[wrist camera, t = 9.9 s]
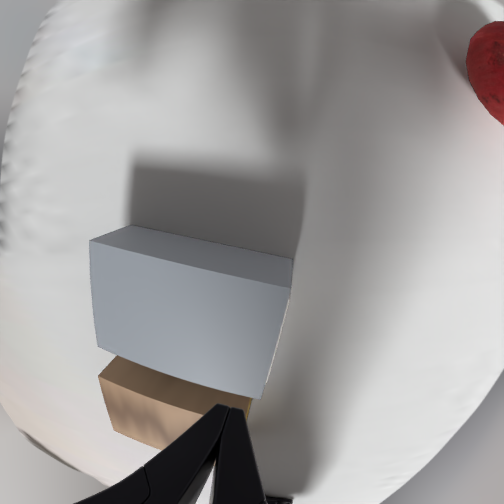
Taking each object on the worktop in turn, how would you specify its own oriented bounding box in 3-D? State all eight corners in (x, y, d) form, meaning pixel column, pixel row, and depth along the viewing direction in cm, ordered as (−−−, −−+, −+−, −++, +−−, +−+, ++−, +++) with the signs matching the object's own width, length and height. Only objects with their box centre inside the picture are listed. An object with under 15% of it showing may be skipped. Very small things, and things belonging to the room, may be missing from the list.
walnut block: (233, 470, 14) (113, 430, 15) (243, 430, 18) (135, 398, 19) (245, 425, 13) (97, 375, 14) (256, 378, 16) (128, 343, 17)
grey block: (262, 400, 12) (97, 346, 13) (270, 353, 16) (132, 314, 17) (293, 289, 10) (89, 240, 11) (294, 257, 14) (133, 223, 15)
